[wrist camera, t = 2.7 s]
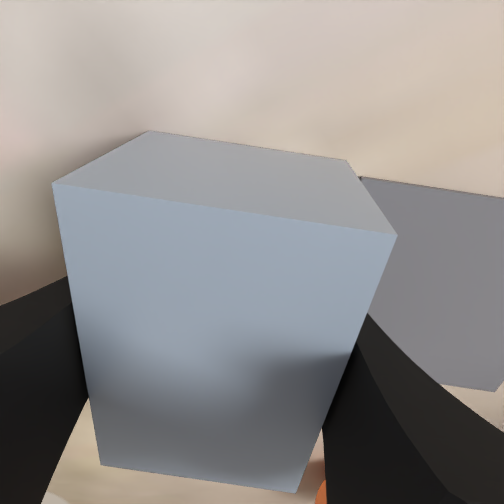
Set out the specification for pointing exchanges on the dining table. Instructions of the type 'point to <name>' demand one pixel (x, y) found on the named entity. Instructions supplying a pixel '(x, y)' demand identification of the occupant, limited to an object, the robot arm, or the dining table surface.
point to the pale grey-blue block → (216, 301)
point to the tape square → (443, 281)
